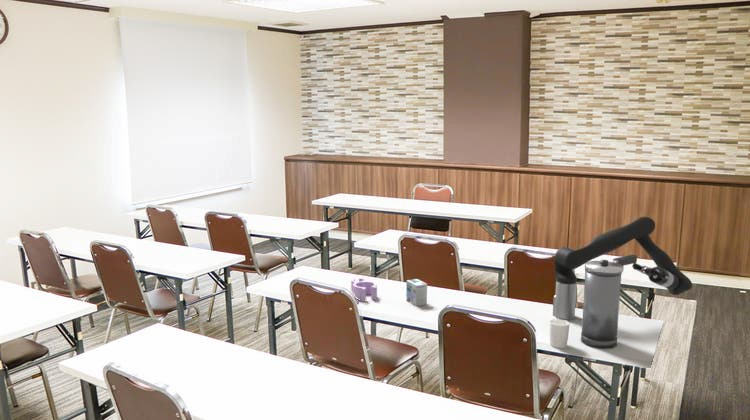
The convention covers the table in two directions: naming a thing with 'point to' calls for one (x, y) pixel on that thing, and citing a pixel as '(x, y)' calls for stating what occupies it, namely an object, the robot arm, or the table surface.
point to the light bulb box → (416, 292)
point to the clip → (364, 289)
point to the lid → (610, 265)
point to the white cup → (559, 333)
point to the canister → (600, 309)
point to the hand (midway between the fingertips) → (642, 267)
